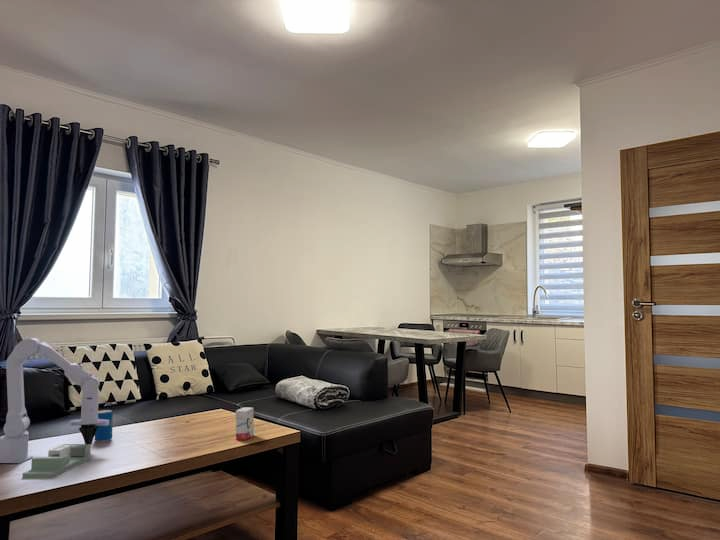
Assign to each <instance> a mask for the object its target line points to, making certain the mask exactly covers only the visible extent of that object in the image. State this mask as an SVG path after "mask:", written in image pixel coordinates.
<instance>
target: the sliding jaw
mask: <svg viewBox="0 0 720 540" xmlns="http://www.w3.org/2000/svg"><path fill="white" fill-rule="evenodd" d="M60 446H71V456H87V455H89V456H90V455H91V448H92V447H91V446H92V444H85V443H78V444H77V443H69V444H68V443H64V444H61V445H60Z"/></svg>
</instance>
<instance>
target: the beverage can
mask: <svg viewBox="0 0 720 540" xmlns="http://www.w3.org/2000/svg"><path fill="white" fill-rule="evenodd" d="M112 411H113V410H111V409H101V410H98V419H104V420H109V425H108V426H99V428H98V429H97V431H96V433H95V435H94V441H95V442H96V443H107V442H109V441H111V440H112V439H113V421H114V420H113V419H114V418H113V417H114V413H113V412H112Z"/></svg>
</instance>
